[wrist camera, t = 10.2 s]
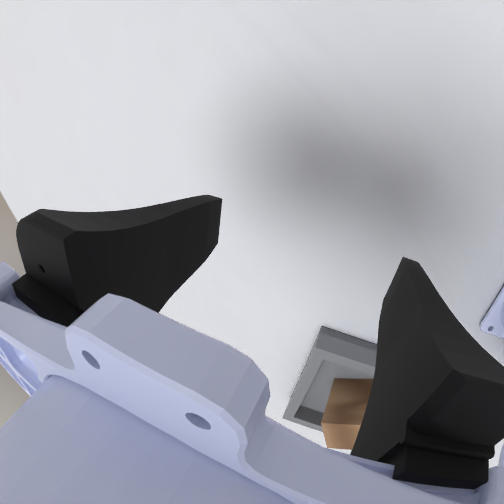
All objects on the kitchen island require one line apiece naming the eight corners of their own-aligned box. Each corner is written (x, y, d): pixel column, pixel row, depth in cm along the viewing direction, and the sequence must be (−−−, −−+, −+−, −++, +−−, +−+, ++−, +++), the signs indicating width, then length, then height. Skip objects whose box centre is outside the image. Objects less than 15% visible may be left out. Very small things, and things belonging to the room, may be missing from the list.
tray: (446, 366, 23) (448, 388, 21) (388, 430, 29) (385, 449, 27) (321, 326, 25) (314, 347, 23) (289, 400, 32) (282, 417, 30)
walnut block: (383, 378, 25) (375, 425, 21) (383, 407, 26) (375, 450, 22) (334, 378, 27) (320, 422, 23) (339, 406, 28) (327, 447, 24)
